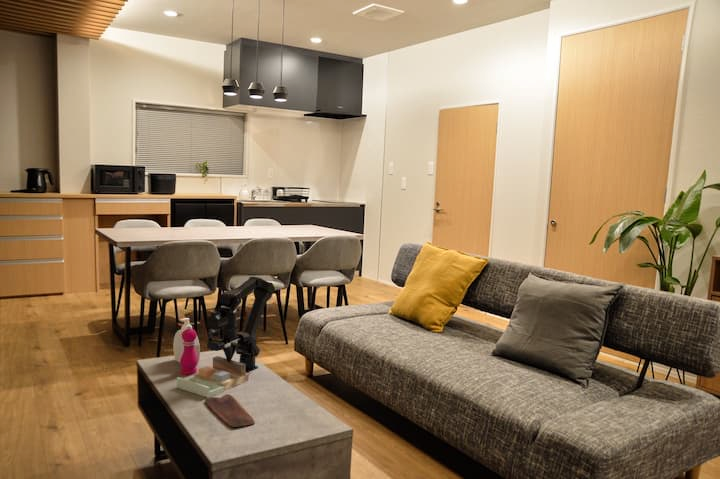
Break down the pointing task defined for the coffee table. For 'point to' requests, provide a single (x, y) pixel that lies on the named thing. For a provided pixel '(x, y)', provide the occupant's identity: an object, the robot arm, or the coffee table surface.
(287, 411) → the coffee table surface
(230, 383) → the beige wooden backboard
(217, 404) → the wooden tablet
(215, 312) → the robot arm
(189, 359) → the pepper mill
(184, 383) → the tray
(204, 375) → the terracotta tile
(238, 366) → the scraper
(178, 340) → the soap bottle
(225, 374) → the grey square block
